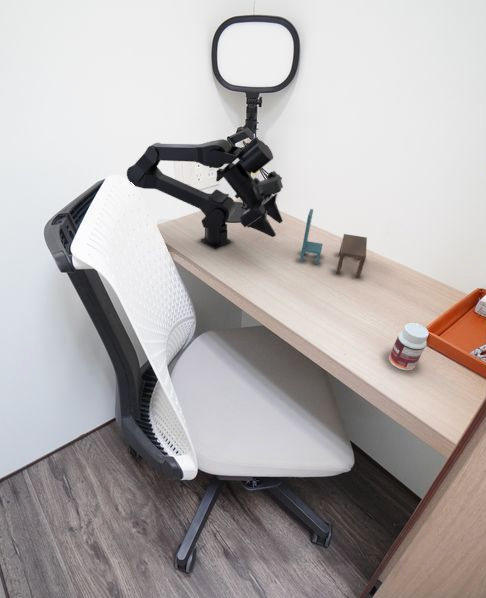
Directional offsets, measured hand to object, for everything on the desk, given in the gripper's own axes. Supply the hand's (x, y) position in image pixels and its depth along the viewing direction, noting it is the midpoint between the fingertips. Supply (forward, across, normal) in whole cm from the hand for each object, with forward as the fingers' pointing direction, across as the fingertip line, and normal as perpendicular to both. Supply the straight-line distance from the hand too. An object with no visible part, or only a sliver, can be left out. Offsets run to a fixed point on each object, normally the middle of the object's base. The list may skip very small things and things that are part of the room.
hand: (278, 228), depth 99 cm
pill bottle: (+28, -33, -18) cm, 47 cm away
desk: (+20, 0, -10) cm, 22 cm away
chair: (+12, 0, -2) cm, 12 cm away
